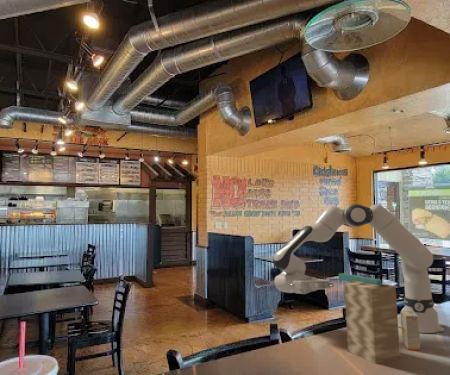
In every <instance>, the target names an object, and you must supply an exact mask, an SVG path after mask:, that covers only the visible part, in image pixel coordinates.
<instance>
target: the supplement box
mask: <svg viewBox="0 0 450 375" xmlns="http://www.w3.org/2000/svg"><path fill="white" fill-rule="evenodd" d="M400 322H401V327H400V328H401V341H402V345H404V346H405V348H406V349H407V350H411V351H421V340H420V339H421V338H420V332H419V323H418V316H417V315H416V314H415V313H413V312H412V311H402V310H401V311H400Z"/></svg>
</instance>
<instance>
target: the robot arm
mask: <svg viewBox="0 0 450 375" xmlns="http://www.w3.org/2000/svg"><path fill="white" fill-rule="evenodd" d="M343 225H344V226H346V227H349V228H356V229H357V228H360V227H362V226H364V225H365V226H366V225H369V226H371V227H372V228H373V229H374V230H375V231H376V233H377V234H378V235H379V236H380V237H381V238H382V240H384V241H385V242H386V244H387V245H388V246H390V248H391V249H393V251H394V252H396V253H397V254H398V255H399V258H400V266H401V270H402V276H403V281H404V282H403V283H404V285H403V286H404V297H403V298H404V299H403V301H404V307H403V308H402V309H401V311H412V312H413V313H415V314H416V315H417V316H418V323H419V333H422V334H432V333H433V334H435V333H440V332H445V328H444V327H442V326H441V325H440V322H439V315H438V314H439V313H438V311H436V309H435V308H434V298H433V296H432V285H431V279H430V276H429V272H428V268H430V267H431V266H432V265H433V262H434V255H433V253H432V252H431V250H430V249H428V247H427V246H425V245H424V244H423V243H422V242H421V241H420V240H419V238H417V237H416V236H415V235H414V234H412V233H411V232H410V231H409V230H408V229H407V228H406V227H405V226H404V225H403V224H402V223H401V222H400V221H399V220H398V218H396V217H395V215H393V213H392V212H390V210H388V209H387V208H385V207H384V206H383V205H381V204H378V203H377V204H373V205H371V206H369V207H368V206H365V205H363V204H359V203H358V204H354V203H353V204H351V205H349V206H347V207H346V208H344V209H342V208H340V207H339V206H335V205H330V206H328V207H327V208H326V209H324V210H323V212H321V213H320V215H318V217H317V218H316V220H314V222H313V223H311V224H310V225H305V226H303V227H302V228H301V229H299V231H298V232H296V234H295V235H293V236H292V237H291V238H290V239H289V240H288V241H287V242H286V243H285V244H284V245H283V246H282V247H280V248H279V249H278V250H277V251H275V253H274V254H273V255H272V263H273V267H274V268H277V269H279V270H280V271H282V272H281V273H279V274H278V275H276V276H275V277H274V281H273V282H274V286H275V288H276V289H277V291H280V292H282V293H286V294H293V293H294V294H301V295H306V294H309V293H311V292H317V290H318V291H319V290H329V289H331V288H334V282H331V280H329V279H322V278H317V277H316V276H310V275H306V274H305V273H306V270H307V266H306V263H305V261H303V260H301V259H300V258H299V257H298V256H296V255H294V253H295V252H296V251H297V250H298V249H299V248H300V247H301V246H302V245H303V244H304V243H306V242H309V241H310V242H315V243H316V242H317V243H325V242H328V241H329V240H331V239H332V238H333V236H334V235H335V234H336V232H337V230H338V229H340V228H341V226H343ZM398 328H401V321H400V322H399V323H398Z"/></svg>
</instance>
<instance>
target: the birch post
mask: <svg viewBox="0 0 450 375" xmlns="http://www.w3.org/2000/svg"><path fill="white" fill-rule="evenodd" d="M396 288H397V287H396V285H392V284H391V285H390V284H387V283H382V286H381V287H380V286H379V285H374V284H369V283H363V282H358V281H351V282H344V294H345V295H344V297H345V298H344V299H345V316H346V317H345V318H346V320H345V321H346V336H347V337H346V338H347V351H348V352H350V353H351V354H353V355H356V356H358V357H361V358H363V359H365V360H367V361H369V362H372V363H373V364H379V363H385V362H388V361H392V360H398V359H401V353H400V352H401V351H400V338H399V337H400V336H399V335H400V334H399V327H398V324H399V323H398V322H399V321H398V304H397V290H396Z"/></svg>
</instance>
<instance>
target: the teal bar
mask: <svg viewBox="0 0 450 375" xmlns="http://www.w3.org/2000/svg"><path fill="white" fill-rule="evenodd" d="M338 280H341V281H345V282H348V283H351V281H358V282H363V283H369V284H374V285H379V286H380V287H381V286H382V284H383V283H382V279H378V278H372V277H367V276H359V275H356V274H355V275H354V274H349V273H344V272H342V273H341V272H340V273H338Z"/></svg>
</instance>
